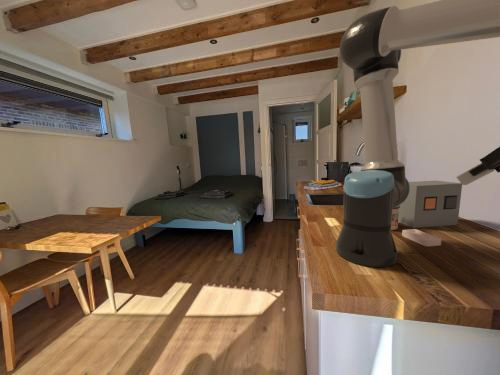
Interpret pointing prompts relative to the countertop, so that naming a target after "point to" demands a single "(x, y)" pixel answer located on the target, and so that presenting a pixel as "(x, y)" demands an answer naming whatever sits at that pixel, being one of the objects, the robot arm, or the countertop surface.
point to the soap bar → (421, 237)
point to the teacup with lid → (395, 218)
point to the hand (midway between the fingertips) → (461, 181)
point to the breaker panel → (444, 205)
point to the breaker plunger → (429, 202)
